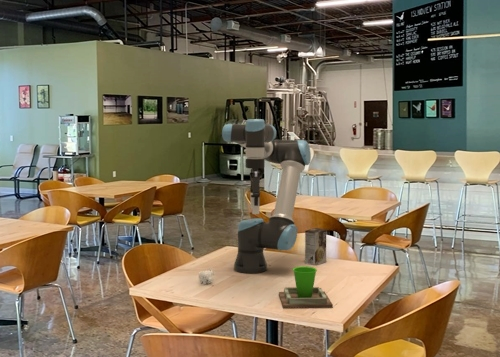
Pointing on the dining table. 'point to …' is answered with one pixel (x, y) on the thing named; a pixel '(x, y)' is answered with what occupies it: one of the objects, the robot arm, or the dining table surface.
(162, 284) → the dining table surface
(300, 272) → the cup
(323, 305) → the jig cradle
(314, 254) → the coffee box
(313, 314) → the dining table surface
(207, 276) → the elephant figurine
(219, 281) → the dining table surface
